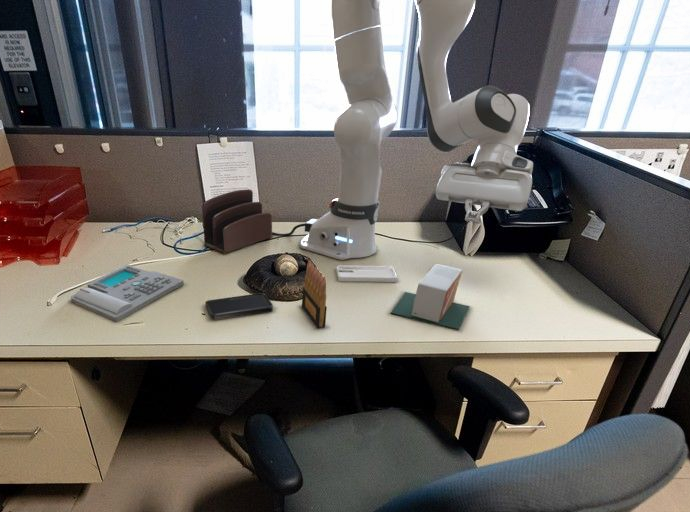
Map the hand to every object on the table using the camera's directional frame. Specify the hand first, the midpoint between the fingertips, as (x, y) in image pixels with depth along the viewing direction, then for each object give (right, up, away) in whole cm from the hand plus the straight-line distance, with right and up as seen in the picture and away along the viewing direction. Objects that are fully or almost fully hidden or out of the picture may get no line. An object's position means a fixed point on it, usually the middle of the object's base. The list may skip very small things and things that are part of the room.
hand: (471, 220), depth 110 cm
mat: (-10, -21, -1) cm, 24 cm away
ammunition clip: (-37, -23, -2) cm, 44 cm away
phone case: (-21, -10, +15) cm, 28 cm away
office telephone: (-84, -15, +10) cm, 86 cm away
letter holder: (-55, +5, +37) cm, 66 cm away
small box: (-5, -14, +2) cm, 15 cm away
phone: (-55, -20, +2) cm, 58 cm away
